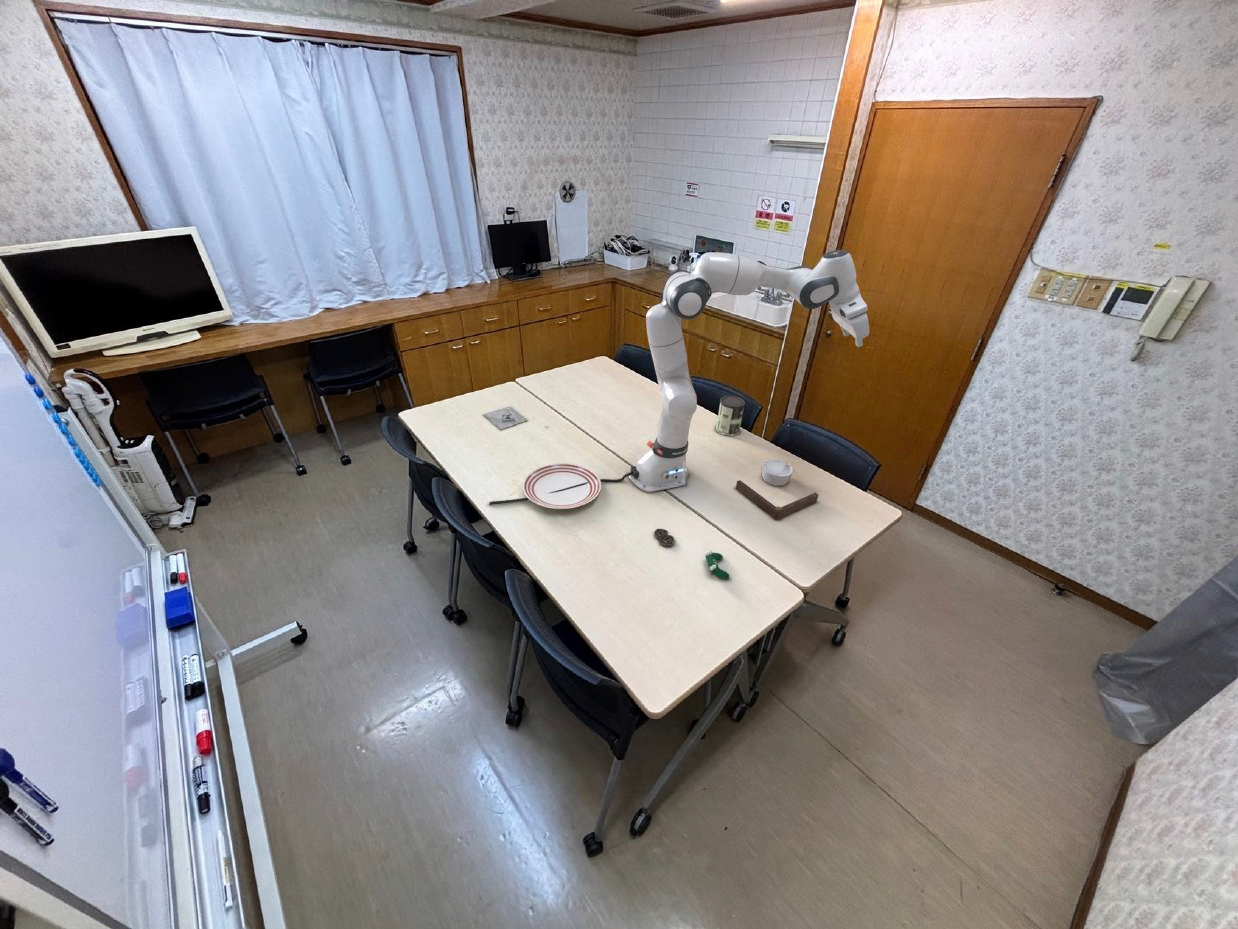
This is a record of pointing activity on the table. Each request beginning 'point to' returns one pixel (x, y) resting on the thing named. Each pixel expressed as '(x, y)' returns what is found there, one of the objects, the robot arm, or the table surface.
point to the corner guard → (769, 507)
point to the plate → (561, 486)
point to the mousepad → (505, 418)
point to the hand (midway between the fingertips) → (853, 340)
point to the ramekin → (776, 472)
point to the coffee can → (730, 415)
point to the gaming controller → (715, 564)
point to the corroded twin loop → (664, 537)
